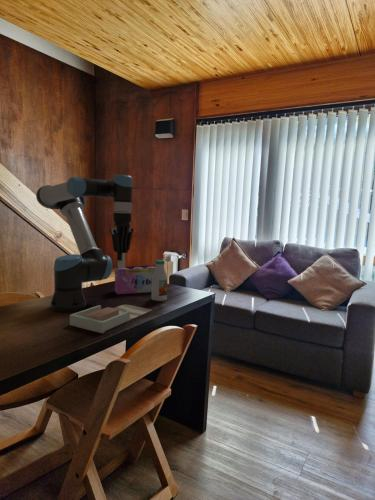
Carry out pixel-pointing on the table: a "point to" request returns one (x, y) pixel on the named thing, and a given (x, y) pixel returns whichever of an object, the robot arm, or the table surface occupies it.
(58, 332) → the table surface
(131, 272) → the gum box
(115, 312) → the tile back
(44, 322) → the table surface
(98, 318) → the tile front
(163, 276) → the milk bottle
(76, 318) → the tray
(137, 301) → the table surface
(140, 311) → the board
